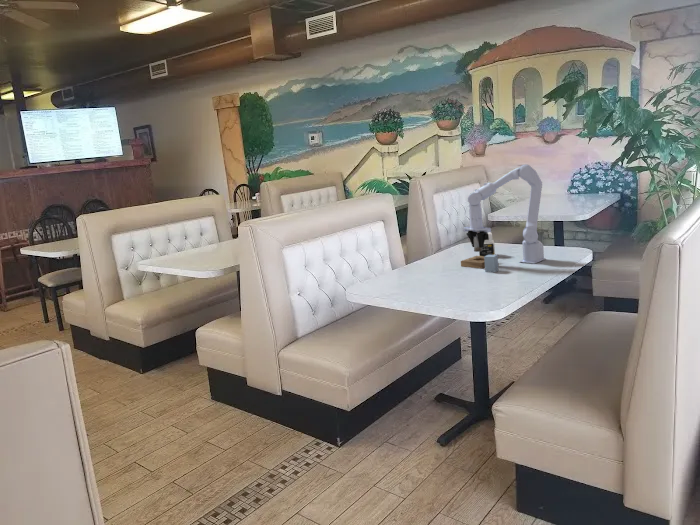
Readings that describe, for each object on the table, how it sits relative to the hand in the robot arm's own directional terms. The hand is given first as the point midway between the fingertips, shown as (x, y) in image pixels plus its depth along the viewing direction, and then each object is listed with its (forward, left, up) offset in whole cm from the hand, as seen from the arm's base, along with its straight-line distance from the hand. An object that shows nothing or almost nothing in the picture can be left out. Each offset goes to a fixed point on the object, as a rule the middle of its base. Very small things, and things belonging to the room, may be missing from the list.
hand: (477, 246), depth 263 cm
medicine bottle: (-17, -8, -9) cm, 21 cm away
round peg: (0, 0, -2) cm, 2 cm away
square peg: (+8, +13, -9) cm, 18 cm away
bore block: (0, 0, -8) cm, 8 cm away
